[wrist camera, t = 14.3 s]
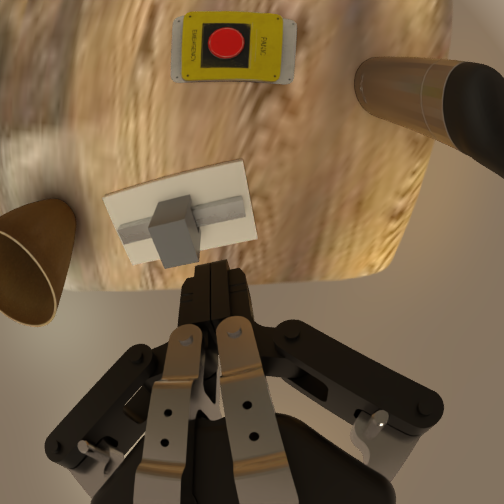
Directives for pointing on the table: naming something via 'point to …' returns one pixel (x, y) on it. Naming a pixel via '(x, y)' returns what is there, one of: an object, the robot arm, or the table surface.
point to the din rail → (201, 214)
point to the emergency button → (233, 47)
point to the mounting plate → (201, 191)
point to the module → (175, 232)
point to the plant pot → (35, 260)
